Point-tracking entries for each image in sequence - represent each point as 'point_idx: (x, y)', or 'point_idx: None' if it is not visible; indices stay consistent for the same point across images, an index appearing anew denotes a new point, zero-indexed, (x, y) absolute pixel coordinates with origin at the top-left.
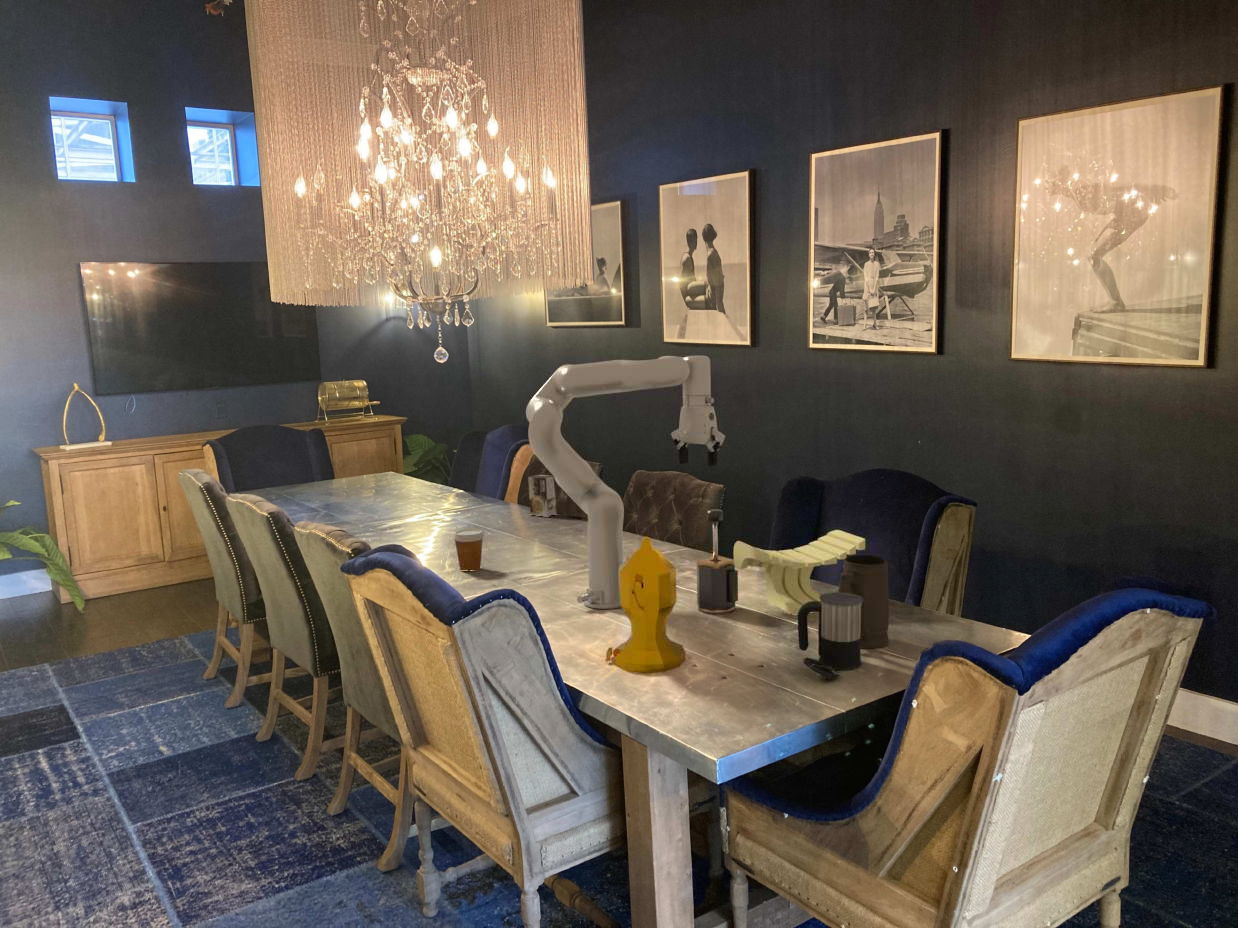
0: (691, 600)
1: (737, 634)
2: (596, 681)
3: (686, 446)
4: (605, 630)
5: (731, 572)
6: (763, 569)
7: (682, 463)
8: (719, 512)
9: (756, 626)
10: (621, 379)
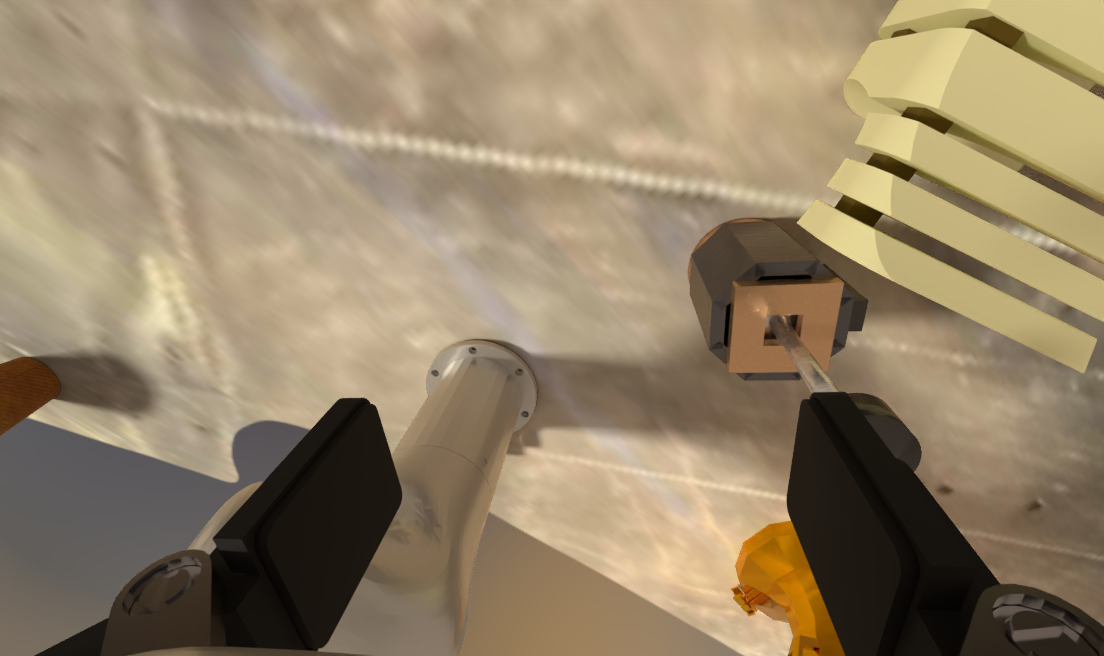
0: (631, 248)
1: (899, 394)
2: (786, 650)
3: (211, 583)
4: (627, 507)
5: (857, 330)
6: (881, 103)
7: (391, 476)
8: (912, 469)
9: (920, 323)
10: None
